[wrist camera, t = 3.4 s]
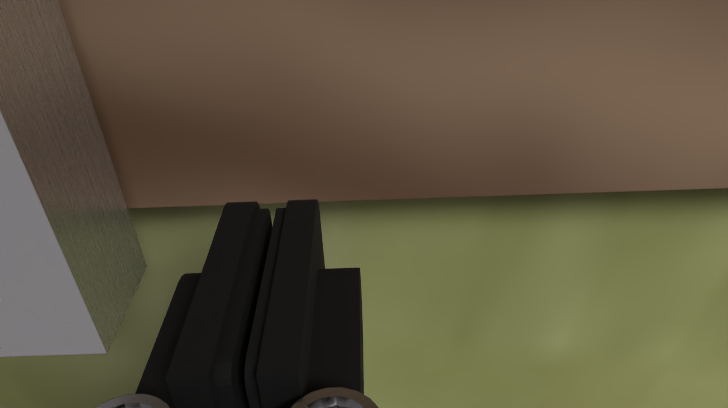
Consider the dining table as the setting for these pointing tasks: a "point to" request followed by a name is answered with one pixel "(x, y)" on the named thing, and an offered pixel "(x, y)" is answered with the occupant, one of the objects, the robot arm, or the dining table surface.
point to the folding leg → (57, 197)
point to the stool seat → (404, 97)
